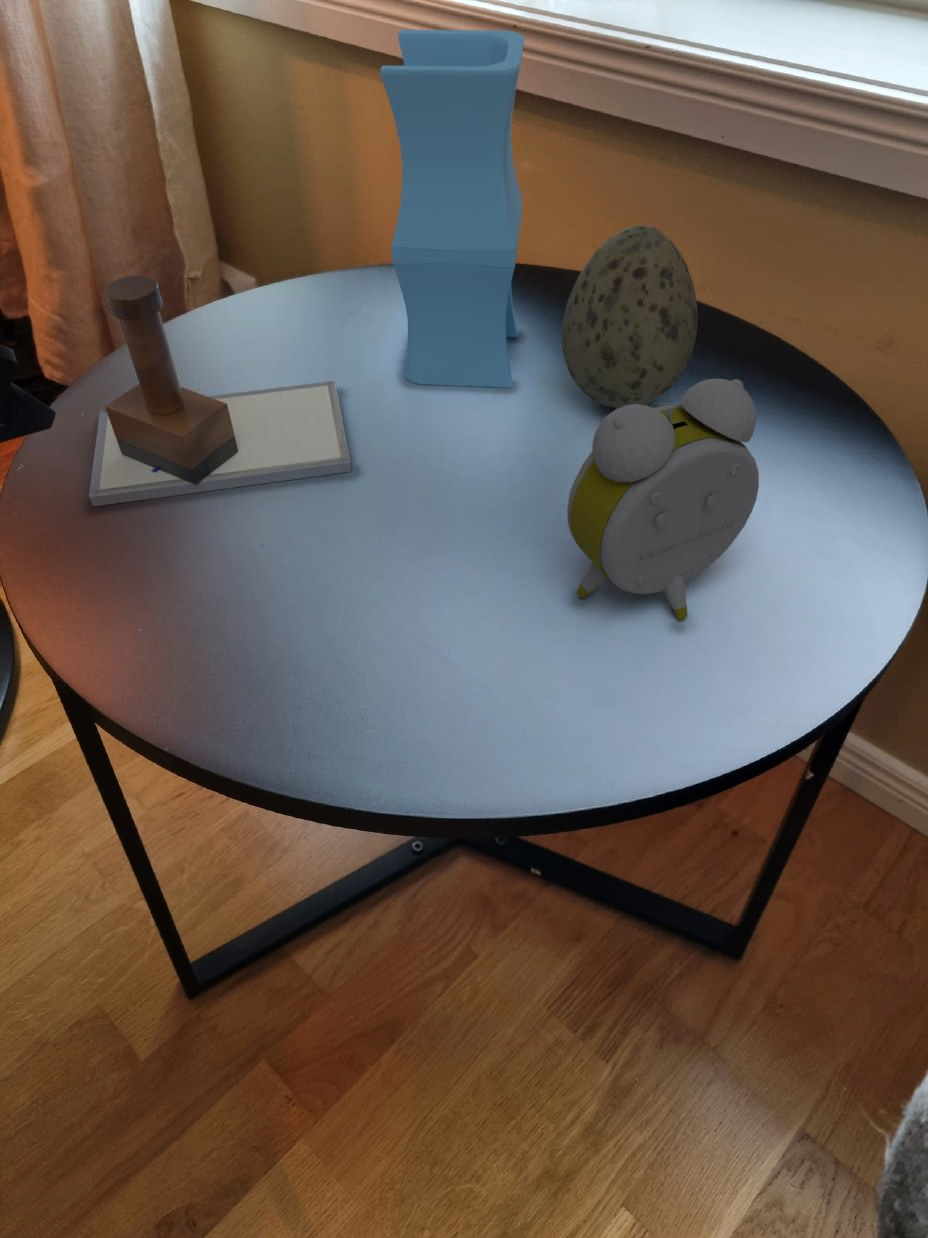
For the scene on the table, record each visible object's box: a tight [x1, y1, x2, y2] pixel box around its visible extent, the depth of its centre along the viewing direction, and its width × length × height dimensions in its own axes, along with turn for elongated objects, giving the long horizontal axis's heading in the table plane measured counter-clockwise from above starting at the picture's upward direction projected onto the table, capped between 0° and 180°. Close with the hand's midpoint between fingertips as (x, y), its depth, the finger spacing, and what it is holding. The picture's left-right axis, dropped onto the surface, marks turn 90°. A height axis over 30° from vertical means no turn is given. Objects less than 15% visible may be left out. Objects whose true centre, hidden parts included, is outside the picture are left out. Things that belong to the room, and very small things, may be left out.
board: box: [88, 380, 352, 507], centre depth 76 cm, size 20×12×1 cm, turn 101°
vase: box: [379, 29, 525, 389], centre depth 76 cm, size 10×10×25 cm
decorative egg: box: [561, 224, 698, 410], centre depth 74 cm, size 11×11×15 cm
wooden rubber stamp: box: [104, 275, 238, 485], centre depth 69 cm, size 5×8×14 cm, turn 59°
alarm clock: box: [566, 378, 760, 620], centre depth 58 cm, size 12×7×15 cm, turn 117°
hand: (0, 398), depth 57 cm, fingers open, 9 cm apart
